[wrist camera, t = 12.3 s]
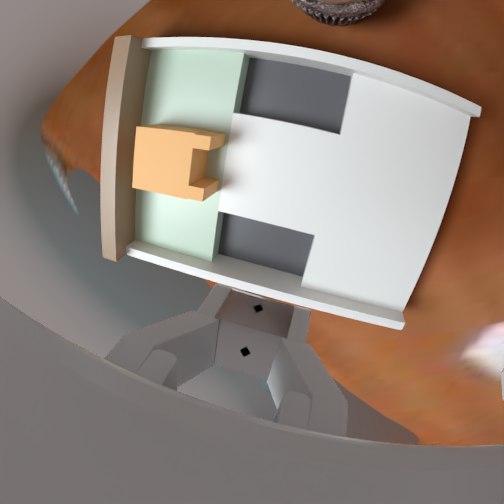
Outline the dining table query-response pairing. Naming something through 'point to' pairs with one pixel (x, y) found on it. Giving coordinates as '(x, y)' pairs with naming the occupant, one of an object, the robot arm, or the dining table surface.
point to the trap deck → (285, 170)
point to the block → (175, 160)
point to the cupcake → (338, 10)
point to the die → (503, 376)
